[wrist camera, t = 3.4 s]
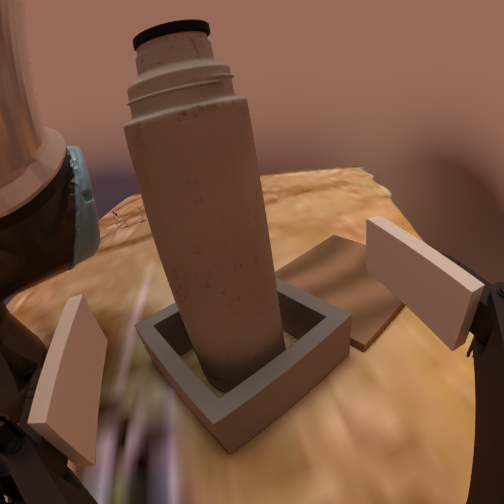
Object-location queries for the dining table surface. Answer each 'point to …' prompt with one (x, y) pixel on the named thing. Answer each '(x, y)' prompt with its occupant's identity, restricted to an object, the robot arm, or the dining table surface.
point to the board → (345, 286)
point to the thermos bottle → (204, 200)
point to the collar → (263, 381)
